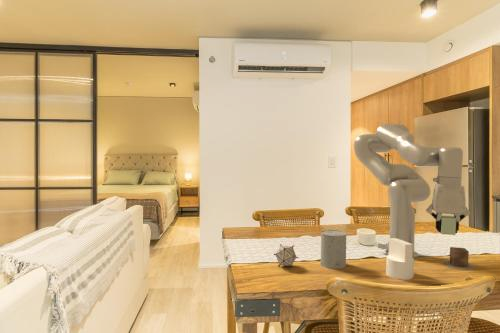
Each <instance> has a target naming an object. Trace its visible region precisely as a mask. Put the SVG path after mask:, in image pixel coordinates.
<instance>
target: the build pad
mask: <svg viewBox="0 0 500 333" xmlns="http://www.w3.org/2000/svg"><path fill="white" fill-rule="evenodd" d="M442 261H443V263H444V264H445V265H446V266H447V267H448V268H449V269H450V268H451V269H460V270H461V269H462V270H474V271H476V270H477V269H476V268H475V267H474V266H473V265H472V264H471V263H469V262H468V267H456V266H452V264H451V263H450V260H442Z"/></svg>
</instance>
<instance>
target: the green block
mask: <svg viewBox="0 0 500 333" xmlns="http://www.w3.org/2000/svg"><path fill="white" fill-rule="evenodd" d="M439 234H441V235H450V236H451V235H452V236H456V235H457V233H456V218H455V217H454V215H441V232H439Z"/></svg>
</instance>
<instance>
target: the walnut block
mask: <svg viewBox="0 0 500 333" xmlns="http://www.w3.org/2000/svg"><path fill="white" fill-rule="evenodd" d="M469 254H470V252H469V251H468V249H466V248H465V247H457V246H456V247H455V246H450V247H449V261H450V263H451V264H452V266H456V267H468V263H469V258H470V257H469Z"/></svg>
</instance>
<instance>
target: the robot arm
mask: <svg viewBox="0 0 500 333" xmlns="http://www.w3.org/2000/svg"><path fill="white" fill-rule="evenodd" d="M393 149H394V150H396V151H397V153H398V155H399V157H400V158H401V159H403V160H404V161H406V162H408V163H409V164H411V165H414V166H416V167H437V176H436V177H432V181H433V182H435V183H437V184H435V186H434V189H433V193H432V198H431V200H432V202H431V204H429V206H428V207H427V208H426V209H425V212H426V213H428V214H429V215H431V217H432V218H433V219H435V230H436V231H437V232H438V233H440V232H441V215H442V214H447V215H453V216H454V217H455V218H456V234H457V233H458V231H459V230H460V222H461V221H462V220H464V218H467V217H468V216H471V211H470V210H469V209H468V208H467V206H466V203H467V202H466V191H465V190H466V189H465V186H464V185H462V178H463V177H462V176H463V175H462V174H463V157H464V155H463V153H464V150H463V149H462V148H461V147H457V146H456V147H454V146H451V147H450V146H449V147H444V146H436V145H435V146H434V145H432V146H429V145H427V146H426V145H424V146H423V145H418V144H416V143H415V137H414V135H413V134H412V133H411V132H410V130H409V128H408V127H407V126H406V125H404V124H400V123H383V124H380V125H379V126H378V127H377V129H376V131H375V134H374V133H373V134H372V133H364V134H361V135H358V136H357V137H356V138H355V139H354V142H353V150H354V154H355V156H356V158H357V159H358V161H359V162H360V163H361V164H362V165H363V166H364V167H366V168H367V170H368V171H369V172H370V173H371V174H372V175H373V176H374V177H375V178H376V179H377V180H378V182H379V183H381V185H383V186H387V187H388V189H387V194H388V200H389V212H390V213H389V214H390V215H389V239H390V238H397V239H400V240H403V241H405V242H408V243H411V244H413V252H412V258H413V259H414V260H415V259H418V257H419V253H418V252H416V251H415V237H416V236H415V235H416V234H415V231H416V230H415V229H416V227H415V226H416V214H415V213H416V212H415V209H414V206H413V205H412V203H417V202H424V201H426V200H428V199H429V198H430V196H431V187H430V185H429V183H428V182H427V181H426V179H424V177H422V176H421V175H420V174H419V173H418V172H417V171H416V170H415V169H413V168H412V167H410V166H409V165H407V164H401V163H392V162H390V161H388V160H387V159H386V158H385V157H384V156H382V155H381V154H379V153H387V152H389V151H391V150H393ZM377 249H381V250H385V252H384V253H385V254H386V256H388V255H389V241H388V242H387V243H384V244H383V243H377Z"/></svg>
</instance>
